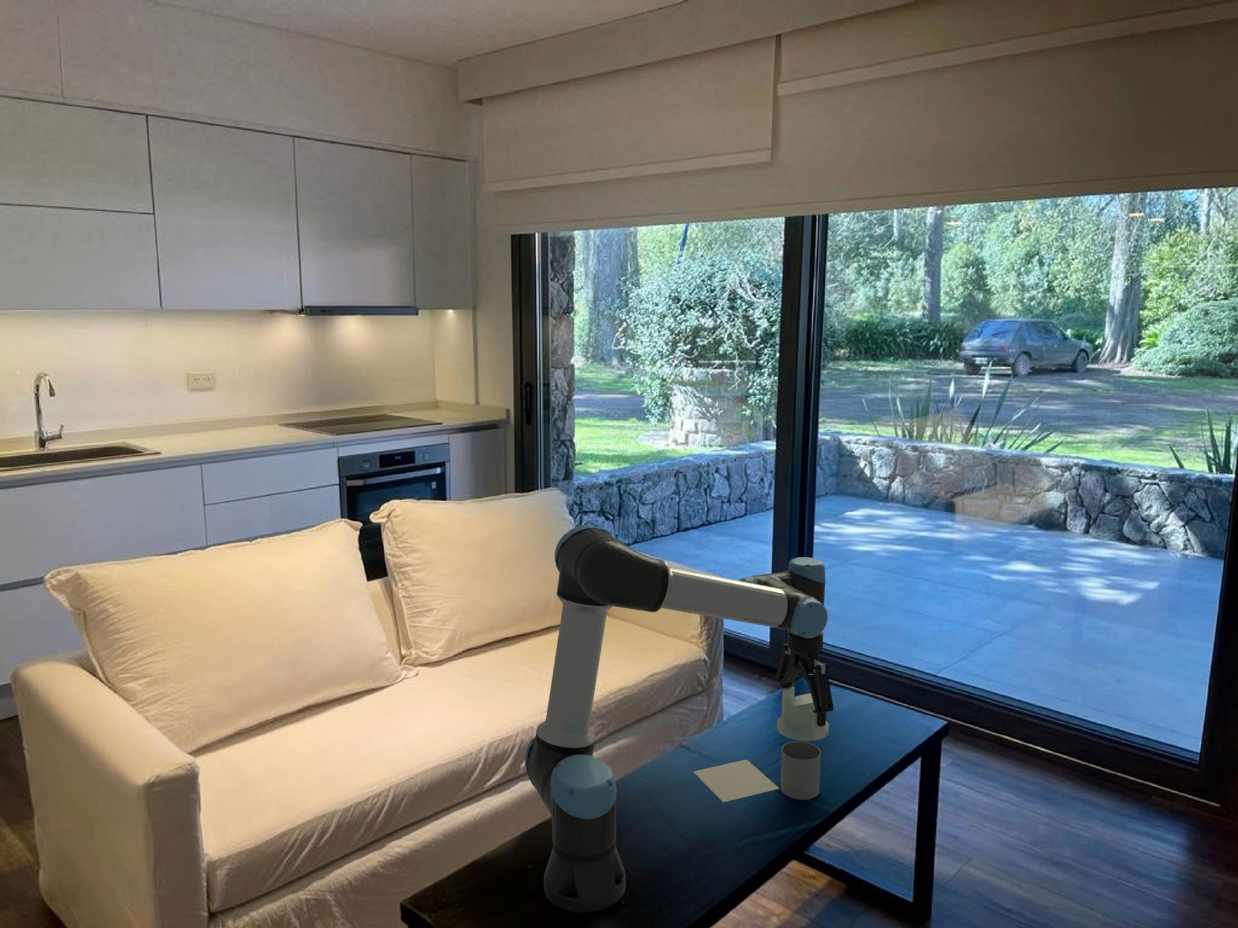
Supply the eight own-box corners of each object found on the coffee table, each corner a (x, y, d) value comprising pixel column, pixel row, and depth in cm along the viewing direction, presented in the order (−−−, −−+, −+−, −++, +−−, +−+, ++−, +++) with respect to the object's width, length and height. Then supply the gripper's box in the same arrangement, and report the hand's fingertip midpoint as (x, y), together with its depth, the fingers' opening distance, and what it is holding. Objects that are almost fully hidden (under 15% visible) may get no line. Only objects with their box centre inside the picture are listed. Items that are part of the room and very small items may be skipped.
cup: (819, 804, 199) (820, 761, 197) (780, 800, 201) (781, 757, 199) (818, 784, 207) (820, 742, 206) (781, 780, 209) (782, 739, 207)
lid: (795, 745, 194) (796, 714, 193) (767, 722, 204) (767, 693, 203) (839, 734, 199) (840, 705, 197) (809, 713, 209) (810, 685, 207)
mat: (723, 805, 199) (723, 801, 199) (693, 774, 212) (693, 771, 212) (779, 791, 204) (779, 788, 204) (746, 762, 217) (746, 759, 217)
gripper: (853, 646, 188) (850, 747, 192) (789, 610, 209) (787, 701, 213) (822, 652, 185) (819, 754, 189) (760, 615, 206) (759, 707, 210)
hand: (802, 726), depth 201 cm, fingers closed on lid, 11 cm apart
